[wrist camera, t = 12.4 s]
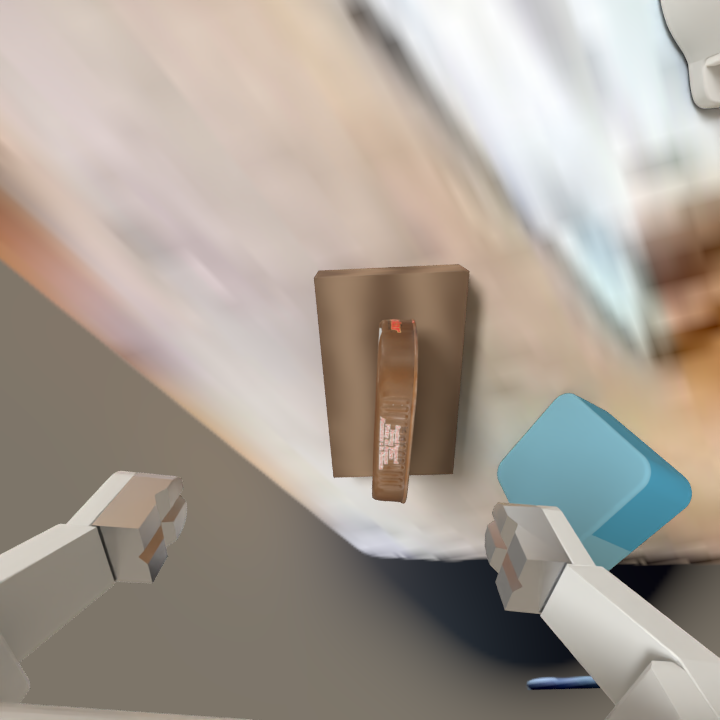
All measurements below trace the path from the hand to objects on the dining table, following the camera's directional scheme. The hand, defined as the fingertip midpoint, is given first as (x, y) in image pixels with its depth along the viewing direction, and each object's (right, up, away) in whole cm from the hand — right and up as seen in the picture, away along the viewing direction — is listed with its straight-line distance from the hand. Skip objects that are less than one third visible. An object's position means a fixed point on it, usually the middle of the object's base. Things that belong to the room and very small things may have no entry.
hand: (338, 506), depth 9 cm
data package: (+20, -4, +28) cm, 35 cm away
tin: (+3, +1, +22) cm, 22 cm away
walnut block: (+3, +3, +26) cm, 26 cm away
